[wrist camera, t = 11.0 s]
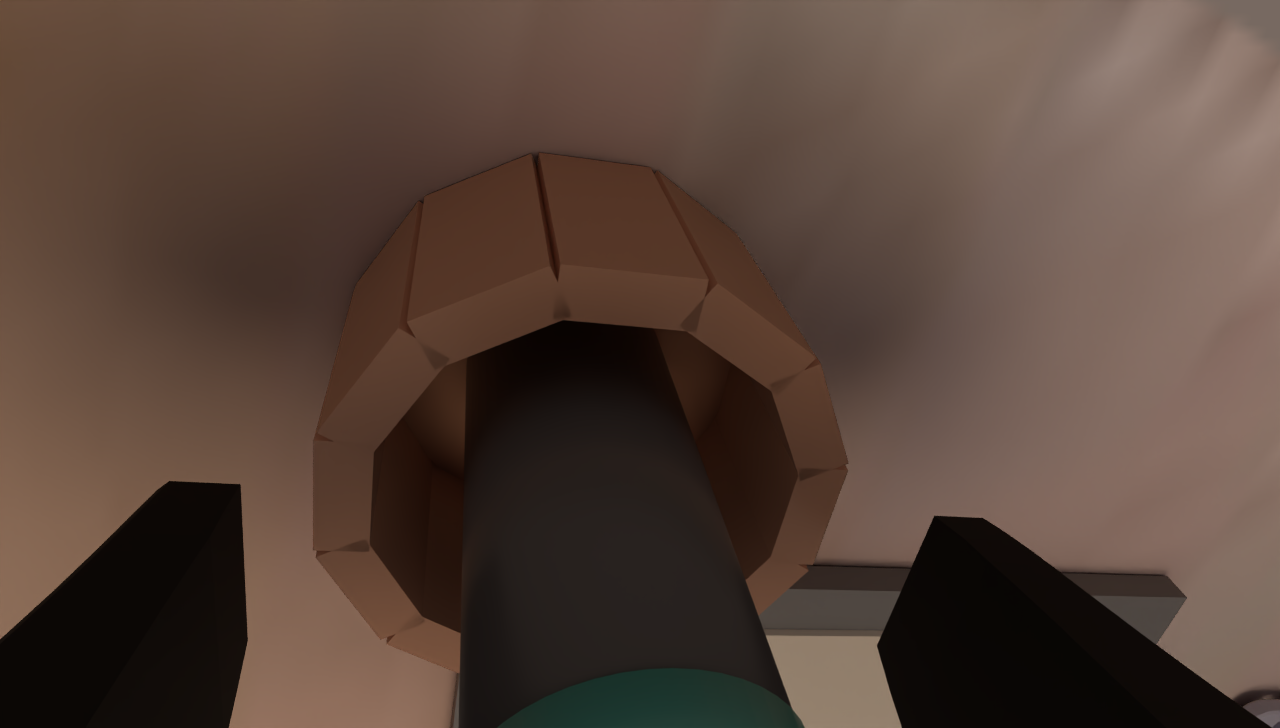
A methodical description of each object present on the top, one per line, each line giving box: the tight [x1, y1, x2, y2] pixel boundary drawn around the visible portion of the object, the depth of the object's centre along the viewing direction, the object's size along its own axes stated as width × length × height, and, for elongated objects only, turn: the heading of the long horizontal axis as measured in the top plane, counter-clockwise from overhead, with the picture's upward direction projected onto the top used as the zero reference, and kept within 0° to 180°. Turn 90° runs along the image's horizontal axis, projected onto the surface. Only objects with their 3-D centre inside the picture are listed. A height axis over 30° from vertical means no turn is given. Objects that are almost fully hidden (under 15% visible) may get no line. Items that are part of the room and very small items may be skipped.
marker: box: [459, 320, 805, 728], centre depth 9 cm, size 3×3×8 cm
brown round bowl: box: [313, 153, 848, 674], centre depth 12 cm, size 6×6×4 cm
